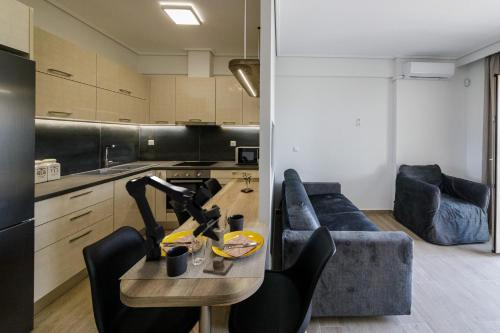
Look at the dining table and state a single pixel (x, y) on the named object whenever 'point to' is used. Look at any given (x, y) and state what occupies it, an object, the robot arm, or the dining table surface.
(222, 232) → the birch block
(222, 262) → the walnut stand
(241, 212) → the dining table surface
